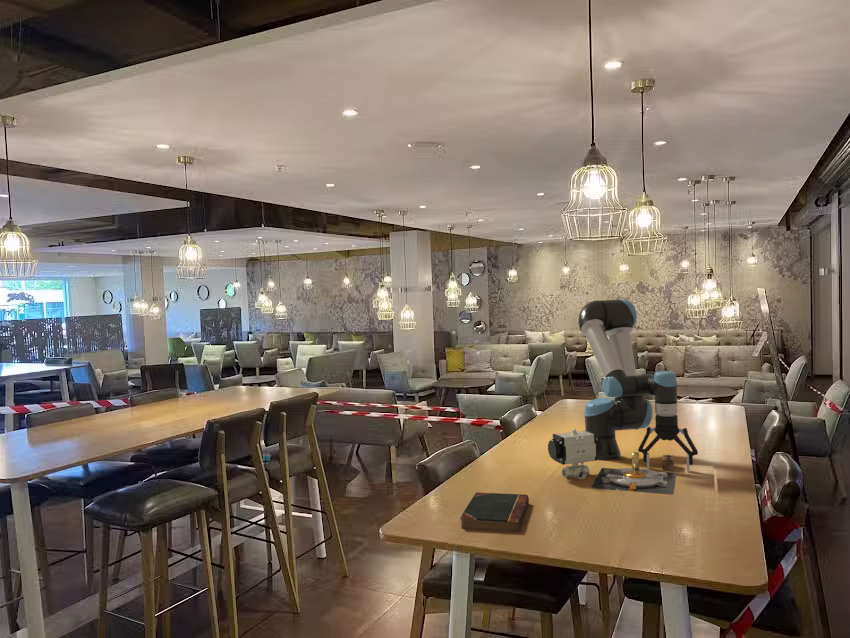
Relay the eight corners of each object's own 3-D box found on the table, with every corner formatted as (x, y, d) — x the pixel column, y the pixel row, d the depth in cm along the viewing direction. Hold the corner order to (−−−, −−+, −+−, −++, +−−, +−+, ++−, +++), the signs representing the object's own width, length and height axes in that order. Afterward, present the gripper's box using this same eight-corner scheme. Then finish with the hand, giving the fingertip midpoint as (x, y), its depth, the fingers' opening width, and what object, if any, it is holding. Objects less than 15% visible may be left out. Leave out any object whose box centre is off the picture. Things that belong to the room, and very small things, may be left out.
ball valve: (559, 484, 224) (557, 434, 223) (548, 478, 232) (546, 429, 231) (605, 478, 228) (603, 429, 228) (592, 472, 237) (591, 425, 236)
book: (476, 502, 210) (459, 530, 186) (475, 491, 210) (459, 517, 186) (529, 505, 205) (519, 533, 181) (528, 494, 205) (519, 521, 181)
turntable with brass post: (647, 493, 207) (647, 470, 206) (588, 479, 225) (587, 458, 224) (682, 479, 220) (681, 458, 219) (623, 467, 238) (622, 447, 238)
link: (662, 473, 233) (662, 458, 233) (663, 468, 240) (663, 454, 239) (673, 473, 232) (672, 459, 232) (673, 468, 238) (673, 454, 238)
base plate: (590, 490, 215) (590, 487, 215) (601, 470, 239) (601, 467, 239) (673, 497, 205) (673, 494, 205) (676, 475, 229) (676, 472, 229)
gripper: (629, 415, 234) (631, 472, 234) (703, 417, 224) (705, 477, 224) (631, 411, 240) (633, 467, 241) (703, 413, 230) (705, 472, 231)
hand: (668, 472), depth 233 cm, fingers open, 13 cm apart
